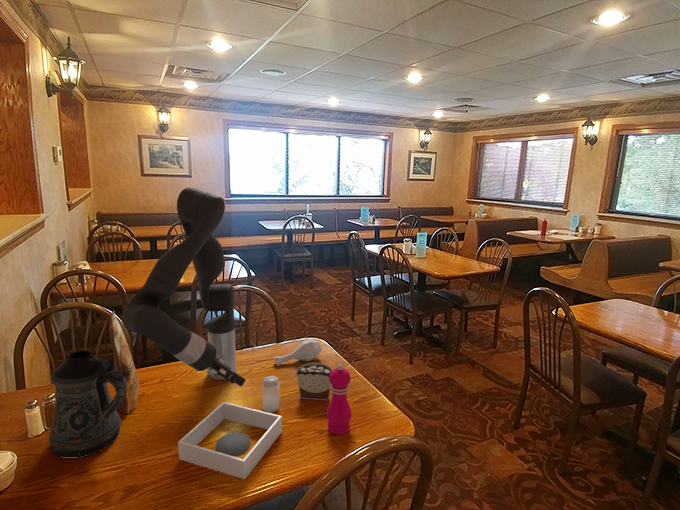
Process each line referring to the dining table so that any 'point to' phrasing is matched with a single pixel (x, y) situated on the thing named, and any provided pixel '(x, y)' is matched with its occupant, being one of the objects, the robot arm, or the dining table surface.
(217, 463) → the grey square frame
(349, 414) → the pepper mill
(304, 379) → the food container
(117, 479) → the dining table surface
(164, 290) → the robot arm
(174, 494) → the dining table surface
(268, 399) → the sugar shaker
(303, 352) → the chicken leg
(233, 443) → the coaster
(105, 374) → the beer stein
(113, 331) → the pancake mix bag
